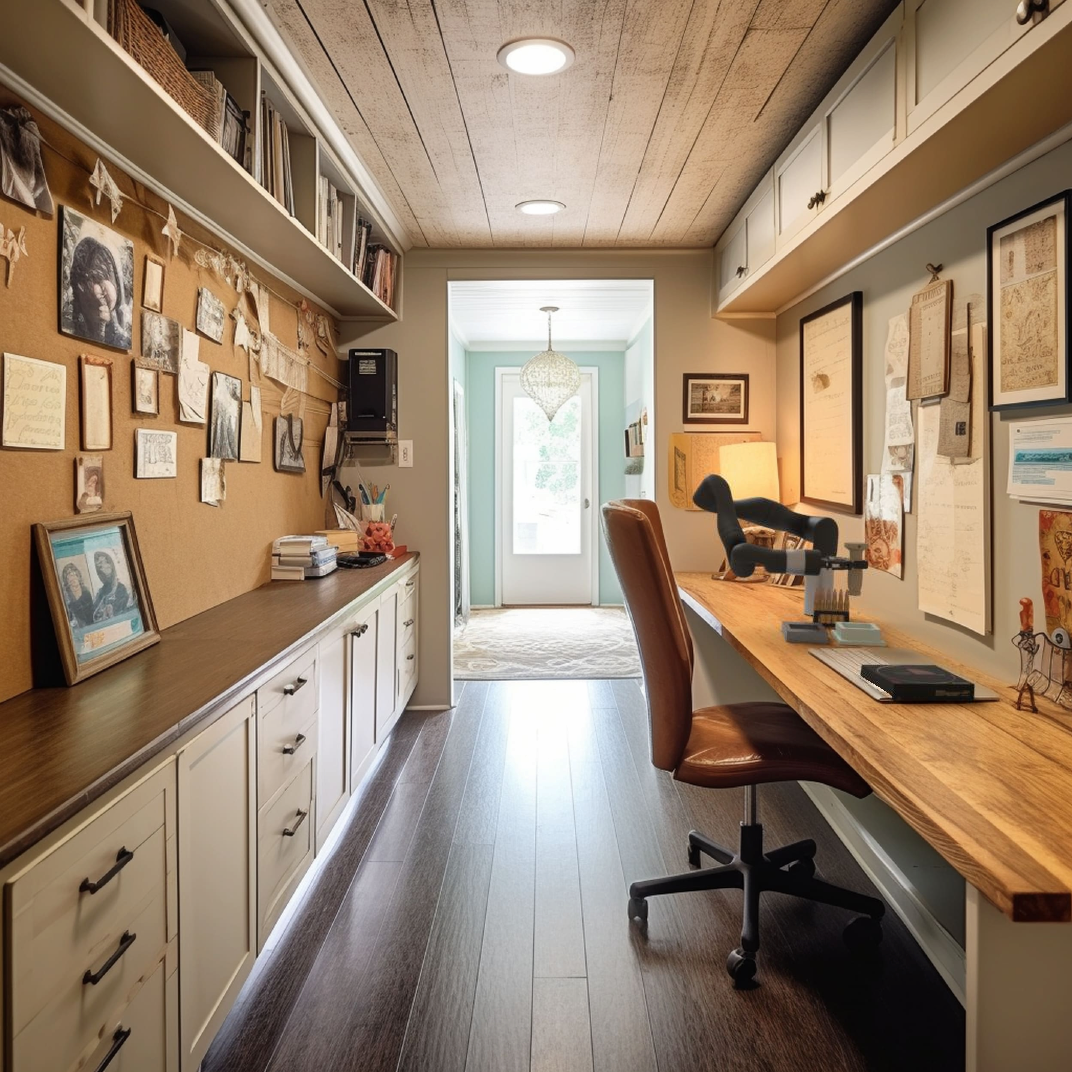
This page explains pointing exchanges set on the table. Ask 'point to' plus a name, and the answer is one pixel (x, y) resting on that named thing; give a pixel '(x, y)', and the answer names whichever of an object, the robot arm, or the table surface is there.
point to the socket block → (804, 632)
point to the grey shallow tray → (858, 634)
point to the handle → (855, 574)
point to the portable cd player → (919, 682)
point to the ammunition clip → (828, 615)
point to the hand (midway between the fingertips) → (866, 564)
